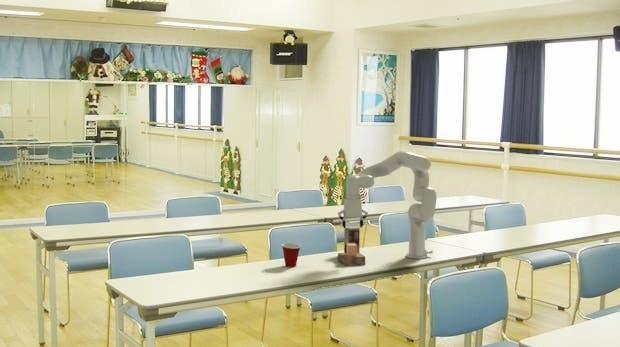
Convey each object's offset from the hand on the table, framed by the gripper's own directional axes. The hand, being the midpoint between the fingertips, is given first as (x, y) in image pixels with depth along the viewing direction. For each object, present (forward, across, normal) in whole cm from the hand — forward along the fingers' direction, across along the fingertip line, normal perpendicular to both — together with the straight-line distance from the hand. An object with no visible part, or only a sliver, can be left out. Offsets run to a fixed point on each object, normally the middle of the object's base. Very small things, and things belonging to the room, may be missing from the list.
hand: (352, 227), depth 382 cm
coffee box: (+21, -3, -18) cm, 27 cm away
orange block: (+16, +1, 0) cm, 16 cm away
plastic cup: (+20, +36, +5) cm, 41 cm away
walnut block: (+21, +1, 0) cm, 21 cm away
